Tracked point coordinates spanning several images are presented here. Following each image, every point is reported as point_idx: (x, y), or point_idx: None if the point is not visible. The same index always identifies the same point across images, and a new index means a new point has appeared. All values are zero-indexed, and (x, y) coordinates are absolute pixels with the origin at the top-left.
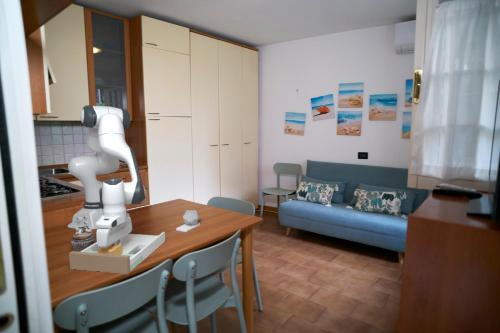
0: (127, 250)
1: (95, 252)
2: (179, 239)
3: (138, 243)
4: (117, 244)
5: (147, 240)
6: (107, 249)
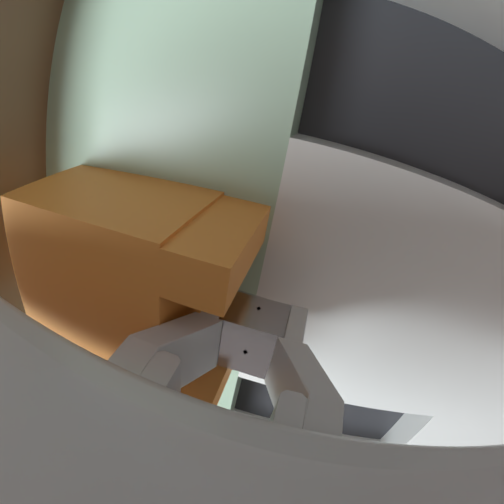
0: None
1: (269, 16)
2: None
3: (460, 407)
4: (273, 364)
5: (486, 433)
6: (42, 300)
